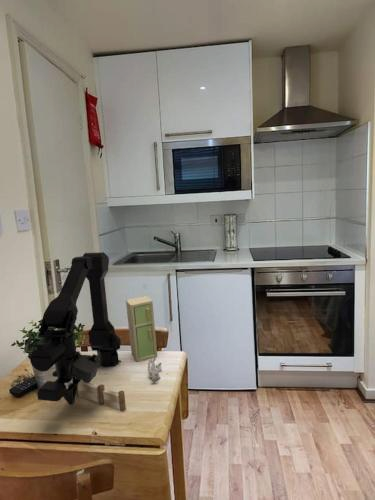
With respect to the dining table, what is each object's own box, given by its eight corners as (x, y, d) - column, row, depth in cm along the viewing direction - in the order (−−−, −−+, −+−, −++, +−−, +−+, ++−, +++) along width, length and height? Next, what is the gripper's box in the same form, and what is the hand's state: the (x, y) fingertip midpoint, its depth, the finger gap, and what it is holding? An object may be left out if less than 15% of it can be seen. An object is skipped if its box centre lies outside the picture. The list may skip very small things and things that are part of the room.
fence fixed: (98, 406, 98) (96, 387, 97) (102, 402, 100) (100, 383, 98) (123, 414, 94) (121, 395, 93) (127, 410, 95) (125, 391, 94)
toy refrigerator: (136, 363, 120) (130, 305, 116) (130, 354, 127) (125, 299, 123) (158, 357, 123) (153, 301, 119) (151, 349, 130) (147, 295, 126)
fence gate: (75, 395, 102) (73, 379, 101) (79, 392, 104) (77, 377, 103) (97, 403, 98) (95, 386, 97) (101, 399, 99) (99, 383, 98)
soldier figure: (168, 368, 118) (172, 376, 106) (159, 380, 117) (161, 389, 105) (150, 353, 118) (152, 359, 106) (141, 365, 117) (141, 372, 105)
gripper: (71, 372, 82) (79, 430, 85) (108, 337, 100) (113, 387, 103) (31, 368, 85) (40, 425, 88) (73, 335, 103) (79, 384, 106)
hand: (71, 404), depth 96 cm, fingers closed
